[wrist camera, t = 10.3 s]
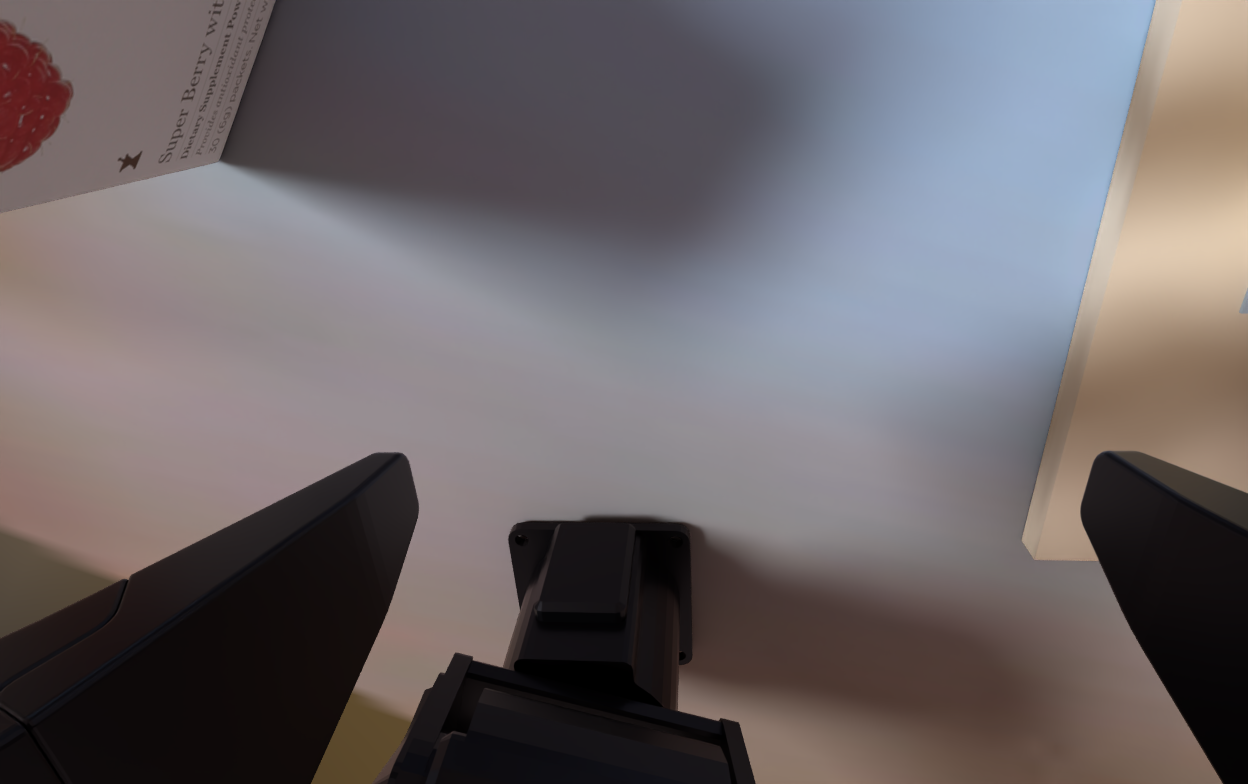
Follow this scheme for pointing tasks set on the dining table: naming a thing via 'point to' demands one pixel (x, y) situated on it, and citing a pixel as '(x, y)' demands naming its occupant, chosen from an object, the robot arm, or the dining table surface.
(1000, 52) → the dining table surface
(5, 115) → the supplement box
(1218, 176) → the tan board grey square
